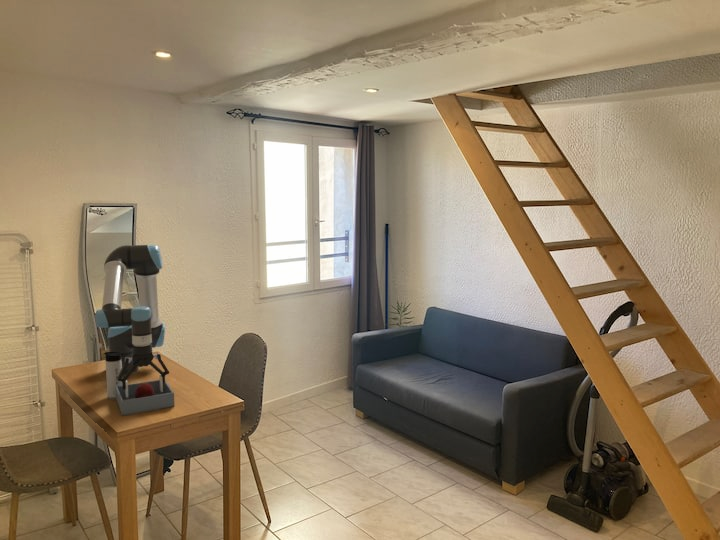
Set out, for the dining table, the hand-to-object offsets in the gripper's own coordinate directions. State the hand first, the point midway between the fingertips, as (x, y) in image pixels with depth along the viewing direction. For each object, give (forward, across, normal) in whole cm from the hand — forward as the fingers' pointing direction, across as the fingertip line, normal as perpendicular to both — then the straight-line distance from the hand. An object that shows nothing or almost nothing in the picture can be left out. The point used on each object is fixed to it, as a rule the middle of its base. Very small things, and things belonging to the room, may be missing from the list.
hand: (144, 393), depth 231 cm
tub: (+4, 0, 0) cm, 4 cm away
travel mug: (+4, -10, +14) cm, 18 cm away
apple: (+4, 0, 0) cm, 4 cm away
